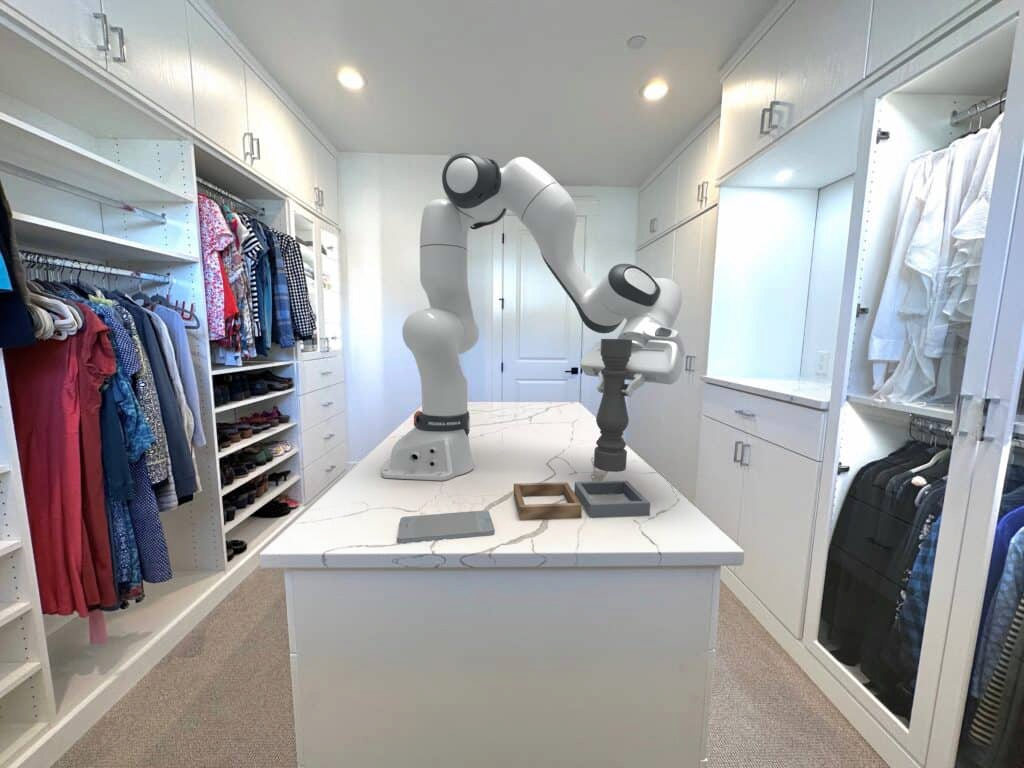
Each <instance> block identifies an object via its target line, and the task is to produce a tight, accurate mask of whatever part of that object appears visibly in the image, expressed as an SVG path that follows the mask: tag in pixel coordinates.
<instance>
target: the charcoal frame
mask: <svg viewBox="0 0 1024 768" xmlns="http://www.w3.org/2000/svg"><path fill="white" fill-rule="evenodd" d="M573 492H574V493H575V495H576V497H577V498H578V500H579V501H580V503H581V504H582V509H584V511H585V513H586V514H587V516H588V517H589V518H594V519H596V518H623V517H624V518H625V517H650V516H651V515H650V514H651V502H650V501H649V500H648V499H647V498H646V497H645V496H643V494H641V492H640V491H638V490H637V488H635V487H634V486H633V485H632V484H631V482H629V481H628V480H606V481H605V480H602V481H601V480H598V481H574V490H573ZM593 495H594V496H595V495H596V496H597V495H599V496H600V495H624V496H625V497H626V498H627V499H628V500H626V501H624V500H623V501H599V502H598V501H596V502H595V501H594V500H593V499H592V498H591V496H593Z"/></svg>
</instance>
